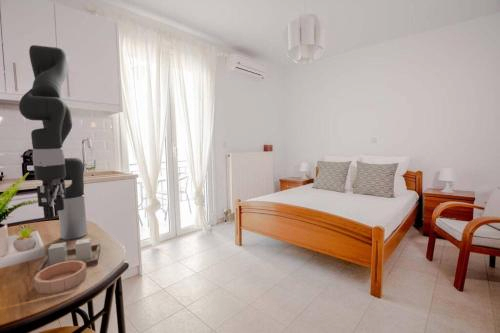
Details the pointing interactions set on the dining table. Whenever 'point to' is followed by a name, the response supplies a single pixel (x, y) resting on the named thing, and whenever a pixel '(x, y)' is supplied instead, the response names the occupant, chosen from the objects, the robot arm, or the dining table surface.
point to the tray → (74, 257)
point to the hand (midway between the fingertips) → (55, 214)
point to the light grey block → (58, 253)
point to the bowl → (60, 276)
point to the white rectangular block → (83, 249)
